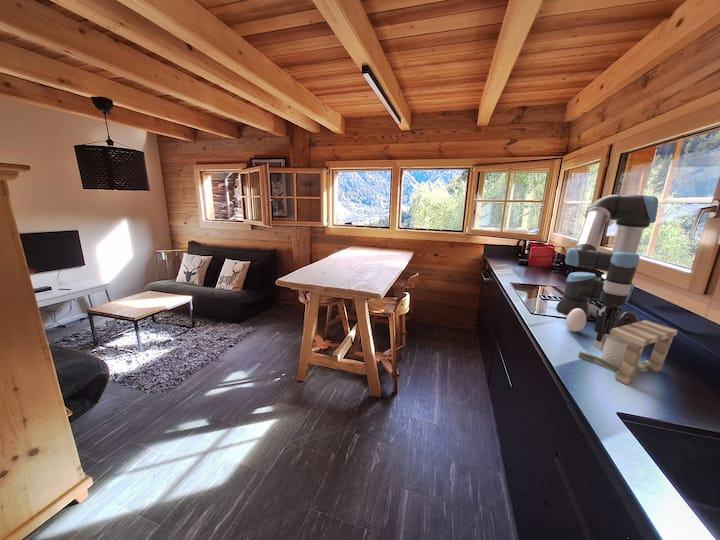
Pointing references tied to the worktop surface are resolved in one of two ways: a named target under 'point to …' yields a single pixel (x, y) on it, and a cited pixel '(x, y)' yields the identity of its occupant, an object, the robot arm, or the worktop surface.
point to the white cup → (614, 349)
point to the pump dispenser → (625, 319)
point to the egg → (576, 320)
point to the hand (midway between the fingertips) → (597, 347)
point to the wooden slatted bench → (638, 349)
